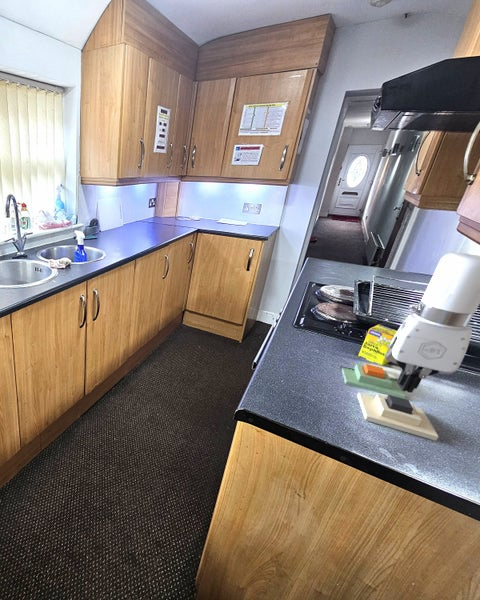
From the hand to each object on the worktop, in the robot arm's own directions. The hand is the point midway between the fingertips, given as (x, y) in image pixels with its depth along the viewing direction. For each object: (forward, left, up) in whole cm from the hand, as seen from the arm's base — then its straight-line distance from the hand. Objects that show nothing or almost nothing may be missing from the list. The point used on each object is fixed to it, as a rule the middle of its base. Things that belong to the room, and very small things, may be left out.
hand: (404, 388), depth 73 cm
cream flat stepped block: (0, 0, -8) cm, 8 cm away
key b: (+2, -14, -5) cm, 15 cm away
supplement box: (-1, -27, -8) cm, 28 cm away
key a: (0, 0, -5) cm, 5 cm away
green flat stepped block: (+2, -14, -8) cm, 16 cm away
